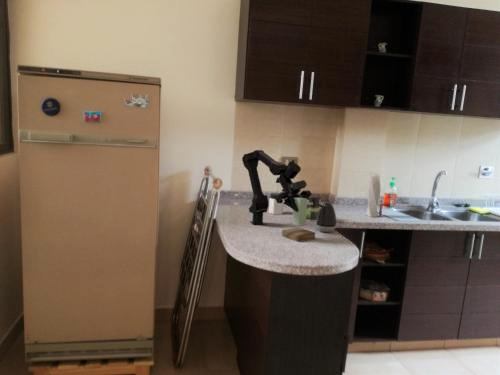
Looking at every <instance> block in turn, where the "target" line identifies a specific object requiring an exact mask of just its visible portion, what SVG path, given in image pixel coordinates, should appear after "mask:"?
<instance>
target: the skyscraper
mask: <svg viewBox="0 0 500 375" xmlns="http://www.w3.org/2000/svg"><path fill="white" fill-rule="evenodd" d="M369 176H370V178H369V179H370V180H369V182H368V187H367V202H368V207H367V210H366V214H365V216H366V217H369V218H374V219H377V218H382V213H383V210H382V209H383V204H382V203H383V198H382V197H381V199H380V196H381V180H380V179H381V175H380V174H378V173H376V172H373V174H372V173H369ZM379 200H380V204H379V211H378V203H379Z"/></svg>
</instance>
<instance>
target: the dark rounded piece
mask: <svg viewBox="0 0 500 375" xmlns="http://www.w3.org/2000/svg"><path fill="white" fill-rule="evenodd" d="M317 205H318V206H320V210H319V213H318V216H317V221H315V224H316V226H317V229H318V230H319V231H320V232H322V233H332V232H333V231H335V229H336V227H337V214H336V211H335V207H334V206H333V204H332V203H331V202H327V201H326V202H324V203H323V204H321V203H320V204H317Z"/></svg>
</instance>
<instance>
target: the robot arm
mask: <svg viewBox="0 0 500 375" xmlns="http://www.w3.org/2000/svg"><path fill="white" fill-rule="evenodd" d="M241 161H242V164H243V167H244V168H246V170H247V172H248V177H249V180H250V186H251V189H252V193H253V196H252V199H251V205H250V206H249V207H248V211H249V213H251V214H252V219H251V220H252V221H249V222H250V223H251V224H252V225H254V226H255V225H266V223H265V222H264V213H267V212H268V210H269V199H268V198H269V197H268V195H266V194H264V193H263V190H262V189H263V188H262V185H261V180H260V175H259V171H258V166H259V161H260V162H261V163H262V164H264V165H265V166H266V167H267V168H268V169H269V170H268V171H269V172H270V173H271V174H272V175H273V176H278V177H276V181H275V183H276V184H280V186H281V188H282V189H281V191H280V192H279V193H280V194H279V195H278V196H277V197H276V201H277V203H282V202H283V200H282V199H284V203H283V204H284V205H286V206H288V207H289V208H291V209H292V211H293V210H295V211H296V212H298V211H299V210H298V208H297V206H296V203H295V201H294V198H298V197H302V198H306V199H308V198H309V197H310V196H311V195H312V192H311V190H308V189H307V190H302V189H305V188H306V187H307V182H306V180H297V181H295V182H293V180H294V179H295V178H296V177H297V176H298V174H299V173H300V172H301V171H302V169H301V166H300V165H299V164H298V163H295V162H294V161H289V162H288V164H287V165H286V164H285V163H283V162H280V161H276V160H275V159H274V158H272V157H271V156H270V155H269V154H267V153H266V152H265V151H264V150H262V149H255V150H253V151H252V152H248V153H244V154H243V156H242V158H241ZM301 190H302V191H301Z"/></svg>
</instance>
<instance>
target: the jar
mask: <svg viewBox="0 0 500 375" xmlns="http://www.w3.org/2000/svg"><path fill="white" fill-rule="evenodd" d="M280 193H281V192H279V193H277V192H273V193H270V194H269V195H270V196H269V197H270V198H269V199H268V201H269V203H268V204H269V206H268V213H269V214H271V213H272V214H273V215H282V214H283V213H284V205H285V204H283V203H284V202H285V201H284V199H282V200H283V202H282V203H277V201H276V197H277V196H278V195H279V194H280ZM272 214H271V215H272Z"/></svg>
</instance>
